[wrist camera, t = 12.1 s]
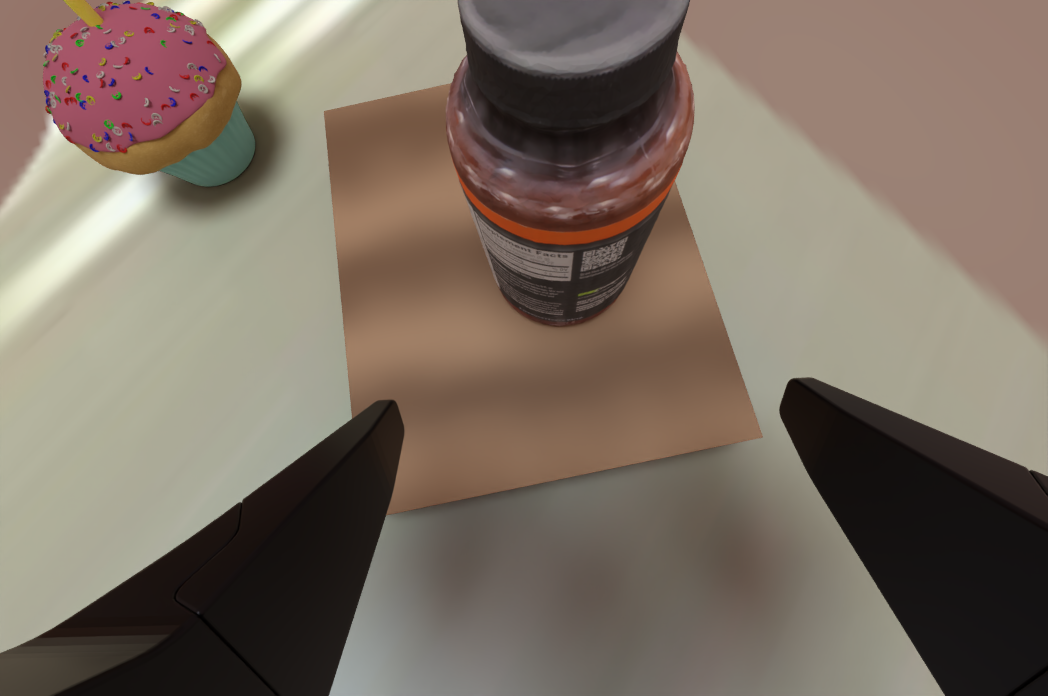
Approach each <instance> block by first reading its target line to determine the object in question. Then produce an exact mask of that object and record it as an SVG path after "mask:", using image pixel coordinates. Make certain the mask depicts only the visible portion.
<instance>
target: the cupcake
mask: <svg viewBox="0 0 1048 696" xmlns="http://www.w3.org/2000/svg"><path fill="white" fill-rule="evenodd" d="M64 1H65V2H66V4H67V5H68V6H70V8H71V9H72V10H73V11H74V12H75V13H77V15H78V18H77V19H78V20H77V21H75V22H74V23H72V24H71V25H70V26H69V27H68V28H64V30H60V29H58V30H57V31H56V32H55V33H54V35H53V36H54V37H53V38H52V39H51V40H50V42H49V44H48V45H47V46H46V47H45V49H46V53H44V57H45V58H46V61H45V63H44V65H43V66H44V71H43V85H44V90H45V91H44V93H45V95H46V104H47V106H46V111H47V113H49V114H52V116H53V121H54V123H55V124H56V125H57V127H58V128H59V130H60V132H61V133H62V134H63V136H64V137H65V138H66V139H67V140H68V141H69V142H71V143H73V144H75V145H76V146H77V147H78V148H80V149H81V150H82V151H83V152H84V153H86V154H87V155H88V156H90V157H91V158H92V159H94V160H95V161H97V162H98V163H99V164H101V165H103V166H105V167H107V168H109V169H112V170H119V171H123V172H127V173H131V174H137V175H143V174H149V173H154V172H157V171H162V172H165V173H168V174H170V175H173V176H176V177H178V178H181V179H183V180H186V181H188V182H190V183H193V184H196V185H199V186H207V187H210V186H218V185H222V184H225V183H227V182H229V181H231V180H233V179H235V178H236V177H238V176H239V175H240V174H241V173H242V172H243V171H244V170H245V169H246V168H247V167H248V165H249V164H250V162H251V160H252V158H253V155H254V152H255V139H254V135H253V133H252V131H251V129H250V127H249V126H248V124H247V122H246V120H245V118H244V116H243V114H242V112H241V110H240V108H239V105H238V103H237V98H238V95H239V92H240V90H241V79H240V76H239V74H238V72H237V70H236V69H235V67H234V65H233V64H232V62H231V60H230V59H229V57H228V56H227V54H226V53H225V52H224V50H223V49H222V48H221V47H220V46H219V45H218V43H217V42H216V41H215V40H214V39H213V38H211V37H210V36H209V35H208V34H207V33H206V29H205V28H204V27H203V24H202V23H201V22H200V21H198V20H196V19H195V20H193V19H191V18H189V17H186V16H185V15H184V14H183V13H181V12H174V11H173V10H171V9H170V8H169V7H166V6H164V7H162V8H161V7H156V6H154V3H153V2H149V3H147V4H143V3H134V4H130V1H125V2H122V4H119V3H112V2H107V3H102V4H100V6H98V7H96V8H95V9H93V8H92V7H91V6H90V5H89V4H88V3H87V2H86V1H85V0H64ZM108 4H109V5H108ZM103 5H104V6H103ZM198 22H199V23H198ZM61 32H62V33H61ZM56 36H57V37H56ZM46 55H47V57H46ZM49 108H50V109H49Z"/></svg>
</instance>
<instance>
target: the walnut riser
mask: <svg viewBox="0 0 1048 696" xmlns="http://www.w3.org/2000/svg"><path fill="white" fill-rule="evenodd" d="M450 86H451V84H446V85H441V86H437V87H432V88H428V89H423V90H419V91H414V92H410V93H405V94H400V95H396V96H391V97H387V98H382V99H378V100H373V101H368V102H364V103H359V104H355V105H350V106H346V107H341V108H337V109H332V110H327V111H324V117H325V128H326V139H327V150H328V161H329V172H330V183H331V193H332V204H333V215H334V226H335V237H336V248H337V259H338V270H339V281H340V291H341V302H342V313H343V324H344V335H345V346H346V357H347V368H348V378H349V389H350V400H351V411H352V418H354V417H355V416H356V415H358V414H359V413H361V412H362V411H363V410H365V409H366V408H367V407H369V406H370V405H371V404H373V403H374V402H376V401H377V400H389V399H393V400H395V401H396V402H397V404H398V407H399V411H400V414H401V417H402V421H403V424H404V429H405V433H404V440H403V445H402V450H401V455H400V460H399V465H398V470H397V476H396V481H395V486H394V490H393V494H392V498H391V501H390V505H389V508H388V511H387V514H386V515H390V514H394V513H399V512H404V511H409V510H414V509H419V508H423V507H428V506H433V505H438V504H443V503H448V502H452V501H457V500H462V499H467V498H472V497H477V496H481V495H486V494H491V493H496V492H501V491H506V490H510V489H515V488H520V487H525V486H530V485H535V484H539V483H544V482H549V481H554V480H559V479H564V478H568V477H573V476H578V475H583V474H588V473H593V472H597V471H602V470H607V469H612V468H617V467H622V466H626V465H631V464H636V463H641V462H646V461H651V460H655V459H660V458H665V457H670V456H675V455H680V454H684V453H689V452H694V451H699V450H704V449H709V448H713V447H718V446H723V445H728V444H733V443H738V442H742V441H747V440H752V439H757V438H762V437H763V436H762V433H761V430H760V427H759V424H758V422H757V419H756V416H755V413H754V410H753V407H752V404H751V401H750V398H749V395H748V392H747V390H746V387H745V384H744V381H743V378H742V375H741V372H740V369H739V366H738V363H737V360H736V358H735V355H734V352H733V349H732V346H731V343H730V340H729V337H728V334H727V331H726V328H725V326H724V323H723V320H722V317H721V314H720V311H719V308H718V305H717V302H716V299H715V296H714V293H713V291H712V288H711V285H710V282H709V279H708V276H707V273H706V270H705V267H704V264H703V261H702V259H701V256H700V253H699V250H698V247H697V244H696V241H695V238H694V235H693V232H692V229H691V227H690V224H689V221H688V218H687V215H686V212H685V209H684V206H683V203H682V200H681V197H680V195H679V192H678V189H677V186H676V183H675V181H674V183H673V185H672V187H671V190H670V192H669V195H668V197H667V199H666V201H665V203H664V205H663V207H662V209H661V211H660V213H659V216H658V218H657V220H656V222H655V224H654V227H653V229H652V231H651V233H650V235H649V237H648V239H647V241H646V243H645V246H644V248H643V250H642V252H641V254H640V256H639V258H638V261H637V263H636V265H635V267H634V269H633V271H632V273H631V275H630V278H629V280H628V282H627V284H626V286H625V287H624V289H623V291H622V292H621V294H620V295H619V297H618V298H617V299H616V301H615V302H614V303H613V304H612V305H611V306H610V307H609V308H607V310H605V311H604V312H602V313H601V314H599V315H598V316H596V317H594V318H592V319H590V320H587V321H585V322H582V323H578V324H573V325H566V326H553V325H547V324H543V323H540V322H536V321H533V320H531V319H529V318H527V317H526V316H524V315H522V314H521V313H519V312H518V311H517V310H515V309H514V308H513V307H512V306H511V305H510V304H509V303H508V302H507V301H506V299H505V298H504V296H503V294H502V293H501V291H500V290H499V287H498V285H497V283H496V281H495V278H494V276H493V273H492V270H491V268H490V265H489V262H488V259H487V257H486V254H485V251H484V248H483V245H482V242H481V240H480V237H479V234H478V231H477V229H476V226H475V223H474V220H473V218H472V215H471V212H470V209H469V206H468V203H467V201H466V198H465V195H464V193H463V190H462V187H461V185H460V182H459V178H458V175H457V172H456V169H455V167H454V164H453V161H452V157H451V153H450V149H449V145H448V142H447V134H446V105H447V98H448V95H449V90H450Z"/></svg>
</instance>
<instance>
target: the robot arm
mask: <svg viewBox="0 0 1048 696" xmlns="http://www.w3.org/2000/svg"><path fill="white" fill-rule="evenodd" d="M779 411H780V416H781V419H782V421H783V423H784V425H785V427H786V429H787V431H788V434H789V436H790V438H791V440H792V442H793V444H794V446H795V448H796V450H797V452H798V454H799V456H800V458H801V461H802V463H803V465H804V467H805V469H806V471H807V473H808V474H809V476H810V478H811V480H812V482H813V483H814V485H815V487H816V488H817V490H818V492H819V493H820V495H821V496H822V498H823V500H824V501H825V503H826V504H827V506H828V508H829V509H830V511H831V512H832V514H833V516H834V517H835V519H836V521H837V522H838V524H839V525H840V527H841V529H842V530H843V532H844V533H845V535H846V537H847V538H848V540H849V542H850V543H851V545H852V546H853V548H854V550H855V551H856V553H857V554H858V556H859V558H860V559H861V561H862V562H863V564H864V566H865V567H866V569H867V571H868V572H869V574H870V575H871V577H872V579H873V580H874V582H875V583H876V585H877V587H878V588H879V590H880V592H881V593H882V595H883V596H884V598H885V600H886V601H887V603H888V604H889V606H890V608H891V609H892V611H893V612H894V614H895V616H896V617H897V619H898V621H899V622H900V624H901V625H902V627H903V629H904V630H905V632H906V633H907V635H908V637H909V638H910V640H911V642H912V643H913V645H914V646H915V648H916V650H917V651H918V653H919V654H920V656H921V658H922V659H923V661H924V662H925V664H926V666H927V667H928V669H929V671H930V672H931V674H932V675H933V677H934V679H935V680H936V682H937V683H938V685H939V687H940V688H941V690H942V692H943V693H944V695H945V696H1048V476H1045V475H1043V474H1041V473H1038V472H1036V471H1033V470H1030V471H1029V470H1028V469H1027V468H1026V467H1024V466H1021V465H1019V464H1017V463H1014V462H1012V461H1009V460H1007V459H1005V458H1002V457H1000V456H998V455H995V454H993V453H990V452H988V451H986V450H983V449H981V448H979V447H976V446H974V445H971V444H969V443H967V442H964V441H962V440H959V439H957V438H955V437H952V436H950V435H948V434H945V433H943V432H940V431H938V430H936V429H933V428H931V427H929V426H926V425H924V424H921V423H919V422H917V421H914V420H912V419H909V418H907V417H905V416H902V415H900V414H898V413H895V412H893V411H890V410H888V409H886V408H883V407H881V406H879V405H876V404H874V403H871V402H869V401H867V400H864V399H862V398H859V397H857V396H855V395H852V394H850V393H848V392H845V391H843V390H840V389H838V388H836V387H833V386H831V385H829V384H826V383H824V382H821V381H819V380H817V379H814V378H810V377H806V378H793V379H791V380H790V381H789V382H788V383H787V386H786V389H785V392H784V395H783V398H782V401H781V404H780V410H779ZM404 433H405V429H404V424H403V421H402V417H401V414H400V411H399V407H398V404H397V402H396V401H395V400H393V399H389V400H377V401H376V402H374V403H373V404H371V405H370V406H369V407H367V408H366V409H365V410H363V411H362V412H361V413H359V414H358V415H356V416H355V417H354V418H352V419H351V420H350V421H348V422H347V423H346V424H344V425H343V426H342V427H340V428H339V429H338V430H336V431H335V432H334V433H332V434H331V435H329V436H328V437H327V438H325V439H324V440H323V441H321V442H320V443H319V444H317V445H316V446H315V447H313V448H312V449H311V450H309V451H308V452H306V453H305V454H304V455H302V456H301V457H300V458H298V459H297V460H296V461H294V462H293V463H292V464H290V465H289V466H288V467H286V468H285V469H283V470H282V471H281V472H279V473H278V474H277V475H275V476H274V477H273V478H271V479H270V480H269V481H267V482H266V483H265V484H263V485H262V486H260V487H259V488H258V489H256V490H255V491H254V492H252V493H251V494H250V495H248V496H247V497H246V498H244V499H243V501H242V503H241V502H239V503H237V504H236V505H235V506H233V507H232V508H231V509H229V510H228V511H227V512H225V513H224V514H223V515H221V516H220V517H218V518H217V519H216V520H214V521H213V522H211V523H210V524H209V525H207V526H206V527H204V528H203V529H202V530H200V531H199V532H198V533H196V534H195V535H193V536H192V537H191V538H189V539H188V540H186V541H185V542H183V543H182V544H180V545H179V546H177V547H176V548H174V549H173V550H171V551H170V552H168V553H167V554H165V555H164V556H162V557H161V558H159V559H158V560H156V561H155V562H153V563H152V564H150V565H149V566H147V567H146V568H144V569H143V570H141V571H140V572H138V573H137V574H135V575H134V576H132V577H131V578H129V579H128V580H126V581H125V582H123V583H122V584H120V585H119V586H117V587H116V588H114V589H112V590H111V591H109V592H108V593H106V594H105V595H103V596H102V597H100V598H99V599H97V600H96V601H94V602H93V603H91V604H90V605H88V606H87V607H85V608H84V609H82V610H81V611H79V612H78V613H76V614H75V615H73V616H72V617H70V618H68V619H67V620H65V621H64V622H62V623H60V624H59V625H57V626H56V627H54V628H52V629H50V630H49V631H47V632H45V633H43V634H41V635H39V636H38V637H36V638H34V639H32V640H29V641H27V642H25V643H23V644H21V645H19V646H17V647H14V648H12V649H9V650H7V651H4V652H2V653H0V696H329V693H330V690H331V687H332V684H333V681H334V678H335V674H336V671H337V668H338V665H339V662H340V659H341V656H342V652H343V649H344V646H345V643H346V640H347V637H348V634H349V630H350V627H351V624H352V621H353V618H354V615H355V612H356V608H357V605H358V602H359V599H360V596H361V593H362V590H363V586H364V583H365V580H366V577H367V574H368V571H369V568H370V564H371V561H372V558H373V555H374V552H375V549H376V545H377V542H378V539H379V536H380V533H381V530H382V527H383V523H384V520H385V517H386V514H387V511H388V508H389V505H390V501H391V498H392V494H393V490H394V486H395V481H396V476H397V470H398V465H399V460H400V455H401V450H402V445H403V440H404Z"/></svg>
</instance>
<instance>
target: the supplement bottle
mask: <svg viewBox="0 0 1048 696" xmlns="http://www.w3.org/2000/svg"><path fill="white" fill-rule="evenodd" d="M689 2H690V0H458V7H459V12H460V18H461V24H462V27H463V32H464V37H465V42H466V51H467V56H466V57H465V58H464V59H463V60H462V62H461V64H460V66H459V68H458V69H457V71H456V73H455V74H454V79H453V81H452V83H451V86H450V90H449V95H448V98H447V105H446V134H447V142H448V145H449V149H450V153H451V157H452V161H453V164H454V167H455V169H456V172H457V175H458V178H459V182H460V185H461V187H462V190H463V193H464V195H465V198H466V201H467V203H468V206H469V209H470V212H471V215H472V218H473V220H474V223H475V226H476V229H477V231H478V234H479V237H480V240H481V242H482V245H483V248H484V251H485V254H486V257H487V259H488V262H489V265H490V268H491V270H492V273H493V276H494V278H495V281H496V283H497V285H498V287H499V290H500V291H501V293H502V294H503V296H504V298H505V299H506V301H507V302H508V303H509V304H510V305H511V306H512V307H513V308H514V309H515V310H517V311H518V312H519V313H521V314H522V315H524V316H526V317H527V318H529V319H531V320H533V321H536V322H540V323H543V324H547V325H553V326H566V325H573V324H578V323H582V322H585V321H587V320H590V319H592V318H594V317H596V316H598V315H599V314H601V313H602V312H604V311H605V310H607V308H609V307H610V306H611V305H612V304H613V303H614V302H615V301H616V299H617V298H618V297H619V295H620V294H621V292H622V291H623V289H624V287H625V286H626V284H627V282H628V280H629V278H630V275H631V273H632V271H633V269H634V267H635V265H636V263H637V261H638V258H639V256H640V254H641V252H642V250H643V248H644V246H645V243H646V241H647V239H648V237H649V235H650V233H651V231H652V229H653V227H654V224H655V222H656V220H657V218H658V216H659V213H660V211H661V209H662V207H663V205H664V203H665V201H666V199H667V197H668V195H669V192H670V190H671V187H672V185H673V183H674V181H675V179H676V176H677V174H678V172H679V170H680V168H681V166H682V163H683V159H684V156H685V154H686V151H687V149H688V145H689V142H690V139H691V135H692V130H693V124H694V108H695V107H694V93H693V90H692V84H691V82H690V78H689V74H688V72H687V68H686V65H685V64H684V63H683V61H682V59H681V57H680V55H679V54H678V52H677V47H678V40H679V36H680V33H681V29H682V26H683V23H684V20H685V16H686V13H687V10H688V6H689Z"/></svg>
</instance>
